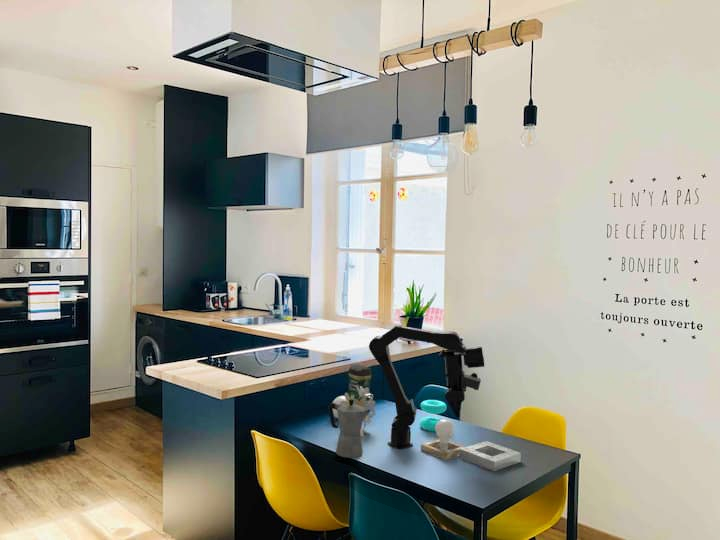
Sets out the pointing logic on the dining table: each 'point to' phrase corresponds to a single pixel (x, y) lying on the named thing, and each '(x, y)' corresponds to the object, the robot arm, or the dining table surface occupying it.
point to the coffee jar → (359, 380)
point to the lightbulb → (444, 433)
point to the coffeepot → (348, 428)
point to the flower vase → (345, 401)
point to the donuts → (432, 408)
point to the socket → (498, 461)
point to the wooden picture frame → (432, 449)
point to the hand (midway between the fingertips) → (458, 414)
